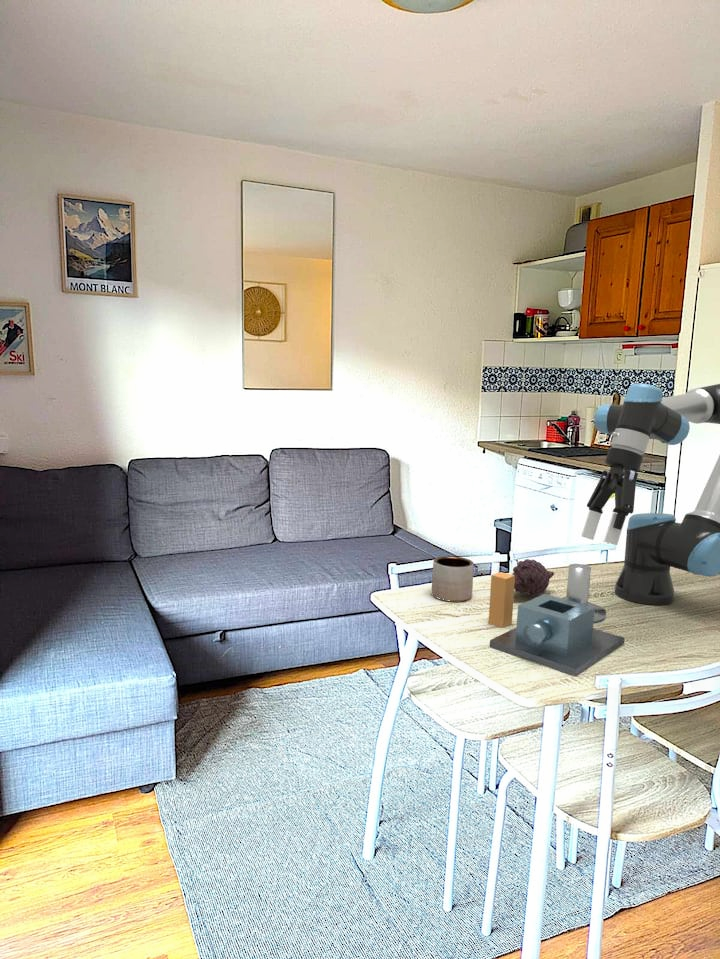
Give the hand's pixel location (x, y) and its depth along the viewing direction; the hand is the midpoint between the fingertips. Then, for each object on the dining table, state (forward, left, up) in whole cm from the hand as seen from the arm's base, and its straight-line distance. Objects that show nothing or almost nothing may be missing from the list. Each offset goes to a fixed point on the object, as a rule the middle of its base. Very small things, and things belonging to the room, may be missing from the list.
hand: (598, 540), depth 154 cm
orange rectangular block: (+9, -19, -23) cm, 30 cm away
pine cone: (-15, -25, -23) cm, 37 cm away
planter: (+1, -39, -23) cm, 45 cm away
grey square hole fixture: (+10, -3, -23) cm, 25 cm away
